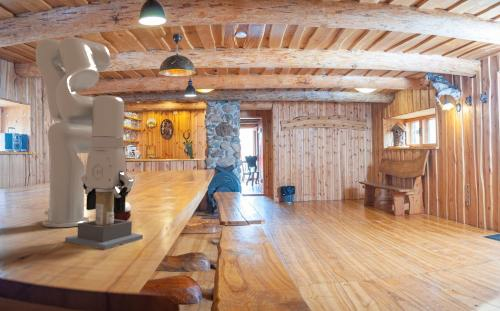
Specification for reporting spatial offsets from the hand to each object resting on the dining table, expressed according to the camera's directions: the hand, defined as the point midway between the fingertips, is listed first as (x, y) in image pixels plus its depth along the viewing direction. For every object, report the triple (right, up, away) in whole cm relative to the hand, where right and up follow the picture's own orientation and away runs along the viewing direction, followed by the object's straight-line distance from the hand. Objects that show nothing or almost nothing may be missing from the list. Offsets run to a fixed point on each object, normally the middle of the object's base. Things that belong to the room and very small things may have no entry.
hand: (105, 211), depth 86 cm
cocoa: (-6, -8, +25) cm, 27 cm away
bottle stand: (0, -7, 0) cm, 7 cm away
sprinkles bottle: (0, -7, 0) cm, 7 cm away
